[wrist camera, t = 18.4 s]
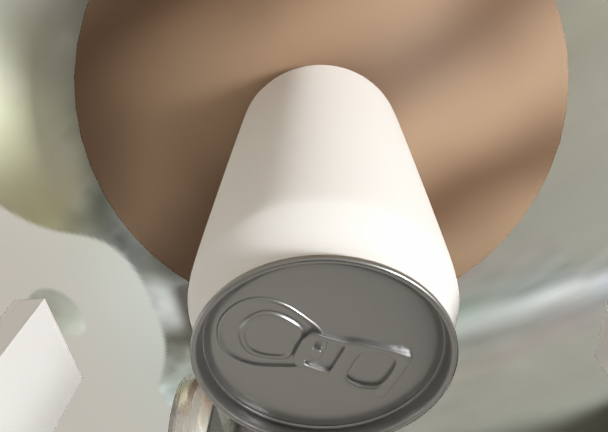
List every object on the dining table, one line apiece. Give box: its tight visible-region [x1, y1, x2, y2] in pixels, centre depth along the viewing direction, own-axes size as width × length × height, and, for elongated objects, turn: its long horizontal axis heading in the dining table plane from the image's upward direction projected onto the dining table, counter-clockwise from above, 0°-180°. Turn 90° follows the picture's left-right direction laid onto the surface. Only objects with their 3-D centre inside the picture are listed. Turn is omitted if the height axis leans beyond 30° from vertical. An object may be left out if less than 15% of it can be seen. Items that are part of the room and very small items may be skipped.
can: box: [188, 65, 459, 432], centre depth 15 cm, size 6×6×12 cm
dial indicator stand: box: [168, 374, 255, 432], centre depth 24 cm, size 10×6×14 cm, turn 6°
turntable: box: [74, 0, 569, 282], centre depth 18 cm, size 20×20×10 cm
